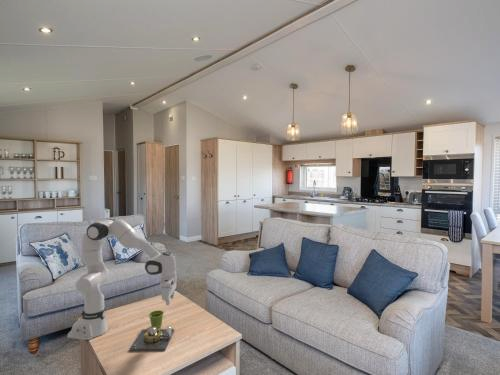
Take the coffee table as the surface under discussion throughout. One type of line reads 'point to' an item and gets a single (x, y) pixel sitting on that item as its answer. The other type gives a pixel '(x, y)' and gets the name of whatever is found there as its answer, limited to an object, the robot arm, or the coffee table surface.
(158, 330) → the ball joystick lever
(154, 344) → the flange plate
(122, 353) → the coffee table surface
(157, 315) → the plant pot
